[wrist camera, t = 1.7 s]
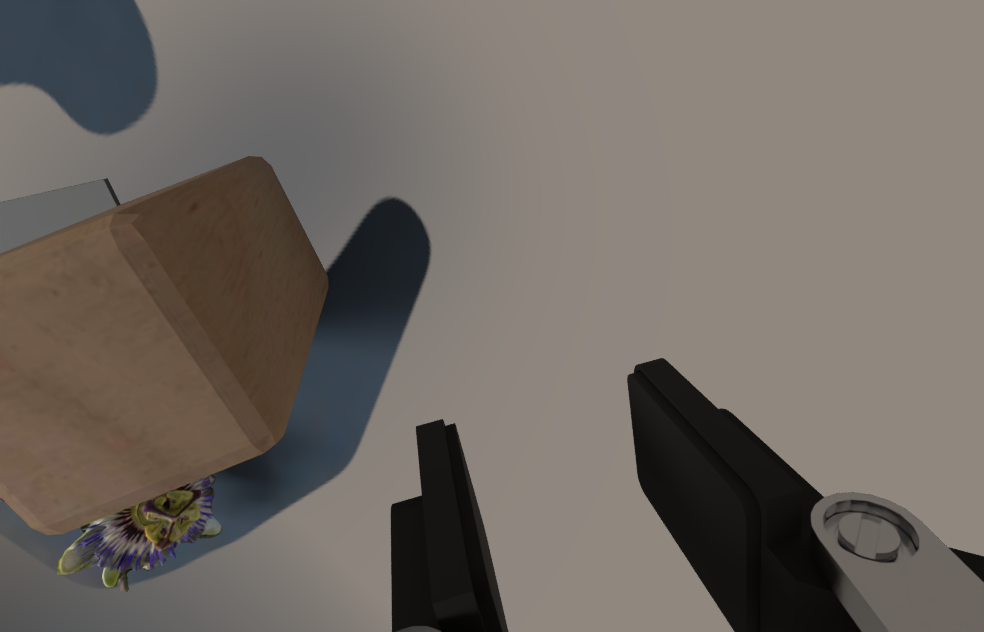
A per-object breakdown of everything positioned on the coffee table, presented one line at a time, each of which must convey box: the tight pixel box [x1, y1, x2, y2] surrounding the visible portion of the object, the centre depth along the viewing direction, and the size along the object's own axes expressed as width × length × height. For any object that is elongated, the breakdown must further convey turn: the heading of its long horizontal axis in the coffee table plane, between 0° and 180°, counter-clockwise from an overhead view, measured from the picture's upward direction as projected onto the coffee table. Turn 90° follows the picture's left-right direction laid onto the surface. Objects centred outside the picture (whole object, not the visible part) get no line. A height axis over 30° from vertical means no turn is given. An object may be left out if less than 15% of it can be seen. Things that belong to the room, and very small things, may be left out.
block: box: [0, 156, 329, 535], centre depth 27 cm, size 10×10×20 cm
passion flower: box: [0, 475, 222, 592], centre depth 37 cm, size 11×11×12 cm
